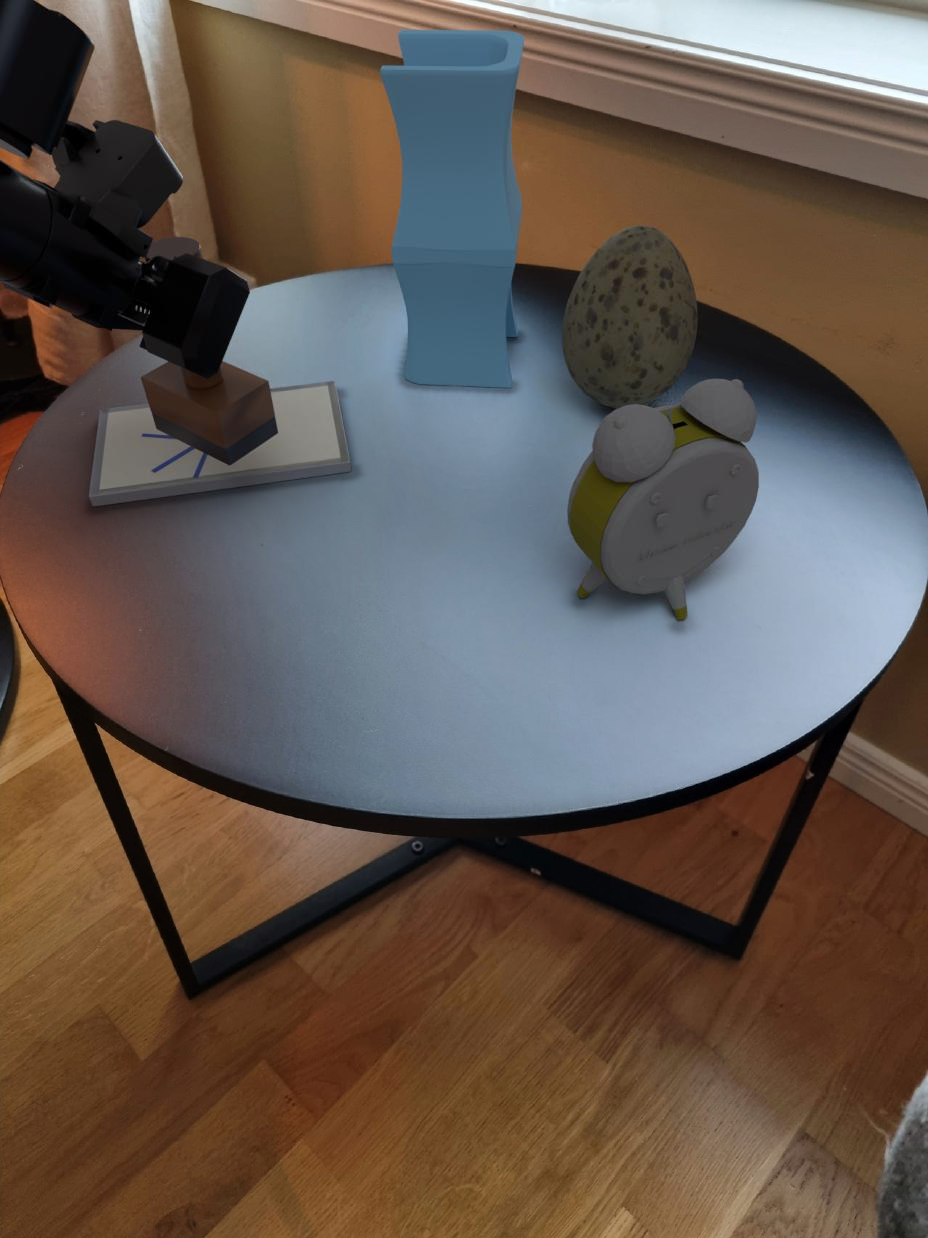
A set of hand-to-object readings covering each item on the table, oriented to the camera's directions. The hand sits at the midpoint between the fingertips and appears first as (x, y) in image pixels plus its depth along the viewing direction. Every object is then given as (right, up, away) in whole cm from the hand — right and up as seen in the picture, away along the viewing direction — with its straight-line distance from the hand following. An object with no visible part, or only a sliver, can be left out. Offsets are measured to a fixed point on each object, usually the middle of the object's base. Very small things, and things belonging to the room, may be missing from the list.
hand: (208, 331), depth 64 cm
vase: (+18, +4, +21) cm, 28 cm away
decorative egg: (+31, -1, +15) cm, 35 cm away
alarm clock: (+31, -18, -1) cm, 36 cm away
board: (-2, -6, +12) cm, 13 cm away
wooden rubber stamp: (-1, -6, +5) cm, 8 cm away
